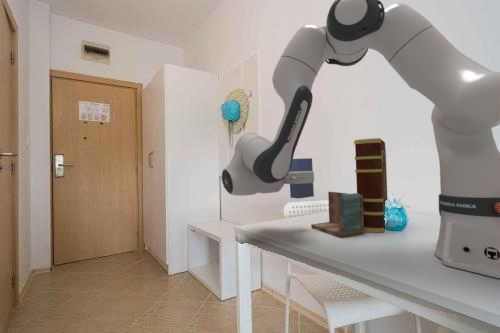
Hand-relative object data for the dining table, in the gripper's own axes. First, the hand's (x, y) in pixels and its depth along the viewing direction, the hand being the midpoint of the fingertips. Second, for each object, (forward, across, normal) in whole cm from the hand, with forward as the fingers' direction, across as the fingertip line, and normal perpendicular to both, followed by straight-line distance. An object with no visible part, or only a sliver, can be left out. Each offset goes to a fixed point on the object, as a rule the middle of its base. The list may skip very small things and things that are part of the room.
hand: (303, 176), depth 89 cm
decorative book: (+23, -10, +19) cm, 32 cm away
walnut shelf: (+7, -7, +19) cm, 21 cm away
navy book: (-1, 0, +7) cm, 7 cm away
